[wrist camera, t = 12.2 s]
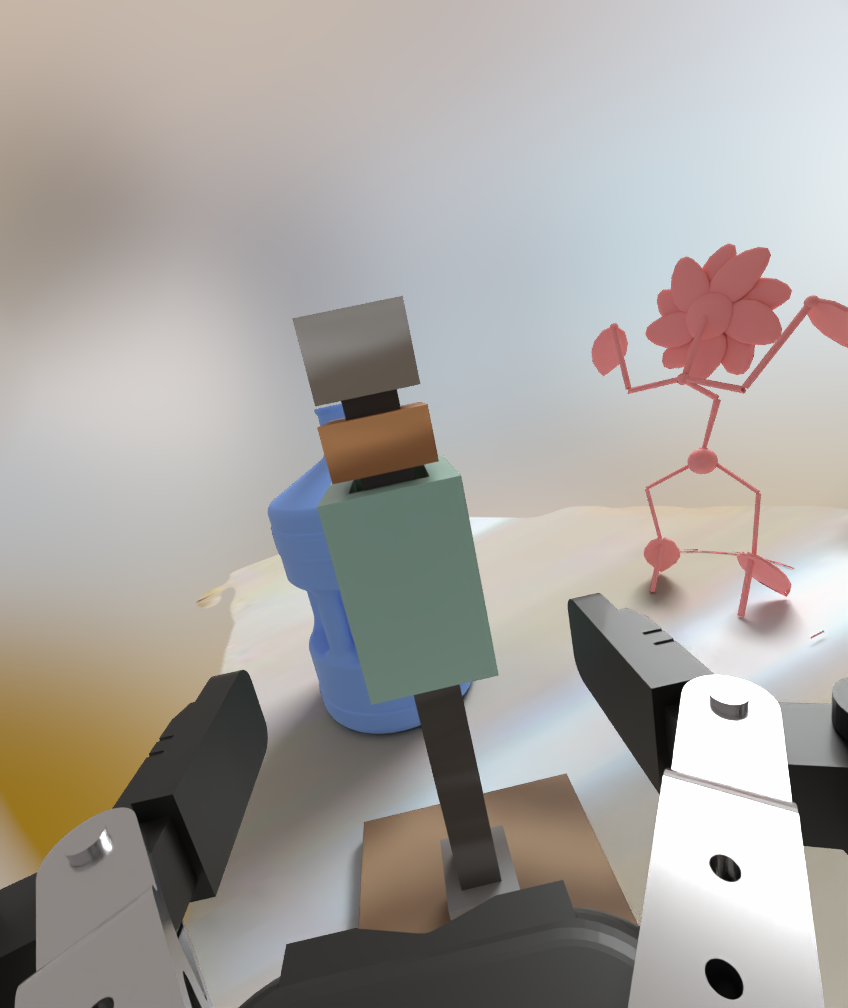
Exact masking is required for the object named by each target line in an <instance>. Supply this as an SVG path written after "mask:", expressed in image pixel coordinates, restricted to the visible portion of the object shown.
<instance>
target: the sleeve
mask: <svg viewBox="0 0 848 1008" xmlns="http://www.w3.org/2000/svg"><path fill="white" fill-rule="evenodd" d="M438 459H439V462H434V463H429V464H425V465H420V466H416V467H413V468H414V473H415V478H416V479H415V480H411V481H406V482H402V483H397V484H393V485H388V486H383V487H379V488H374V489H370V490H365V491H363V488H362V484H361V480H360V479H356V480H351V481H347V482H342V483H338V484H333V485H332V482H331V484H330V486H329V488H328V489H327V491H326V493H325V494H324V496H323V498H322V499H321V501H320V503H319V504H318V506H317V509H318V513H319V517H320V520H321V524H322V527H323V531H324V535H325V538H326V542H327V546H328V549H329V553H330V556H331V560H332V564H333V567H334V571H335V575H336V578H337V582H338V585H339V589H340V593H341V596H342V600H343V604H344V607H345V611H346V615H347V618H348V622H349V625H350V629H351V633H352V636H353V640H354V644H355V647H356V651H357V654H358V658H359V662H360V665H361V669H362V673H363V676H364V680H365V684H366V687H367V691H368V694H369V698H370V702H371V705H373V704H377V703H382V702H386V701H390V700H395V699H399V698H403V697H407V696H412V695H416V694H420V693H425V692H429V691H433V690H438V689H442V688H446V687H450V686H455V685H459V684H463V683H468V682H472V681H476V680H481V679H485V678H489V677H493V676H498V670H497V665H496V659H495V654H494V649H493V643H492V638H491V633H490V627H489V622H488V617H487V611H486V606H485V601H484V595H483V590H482V585H481V579H480V574H479V569H478V563H477V558H476V553H475V547H474V542H473V537H472V531H471V526H470V521H469V515H468V510H467V505H466V499H465V494H464V489H463V483H462V478H461V475H460V474H459V473H458V471H457V470H456V469H455V468H454V467H453V466H452V465H451V464H450V463H449V462H448V460H447V459H446V458H445V457H444V456H439V457H438Z"/></svg>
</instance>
